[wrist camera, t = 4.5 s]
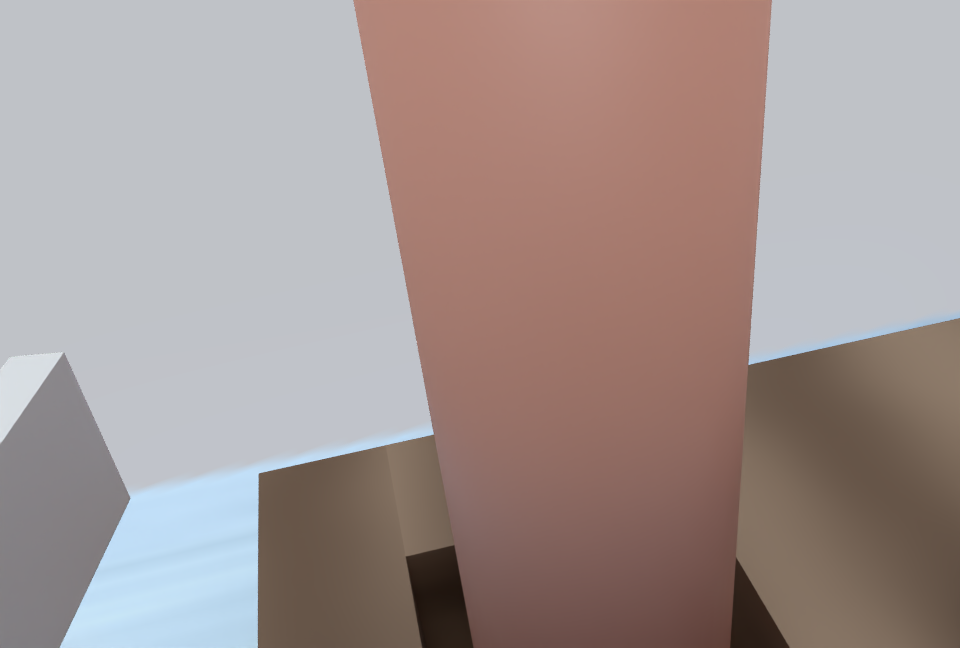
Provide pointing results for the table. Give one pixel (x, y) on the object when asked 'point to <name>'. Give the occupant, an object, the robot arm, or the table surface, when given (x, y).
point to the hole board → (761, 522)
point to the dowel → (580, 298)
